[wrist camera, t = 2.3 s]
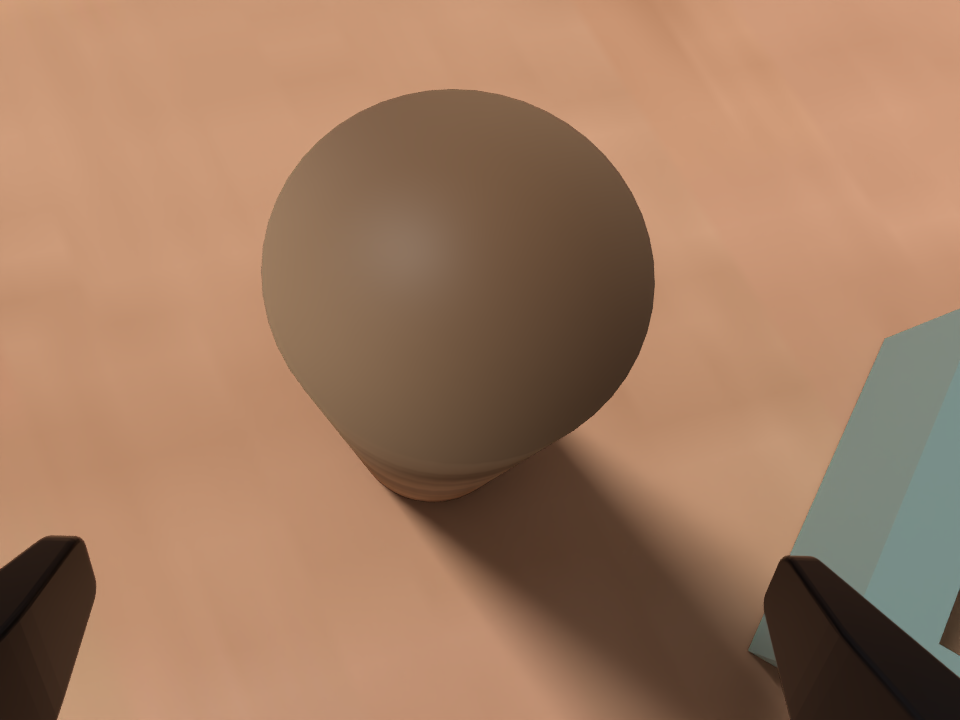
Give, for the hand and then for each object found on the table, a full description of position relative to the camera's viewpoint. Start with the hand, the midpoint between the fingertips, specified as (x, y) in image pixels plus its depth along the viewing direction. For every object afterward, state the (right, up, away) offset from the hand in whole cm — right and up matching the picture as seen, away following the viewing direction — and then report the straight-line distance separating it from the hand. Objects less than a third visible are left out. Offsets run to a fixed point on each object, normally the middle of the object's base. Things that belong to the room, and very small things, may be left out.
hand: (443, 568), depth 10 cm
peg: (-1, +1, +11) cm, 11 cm away
